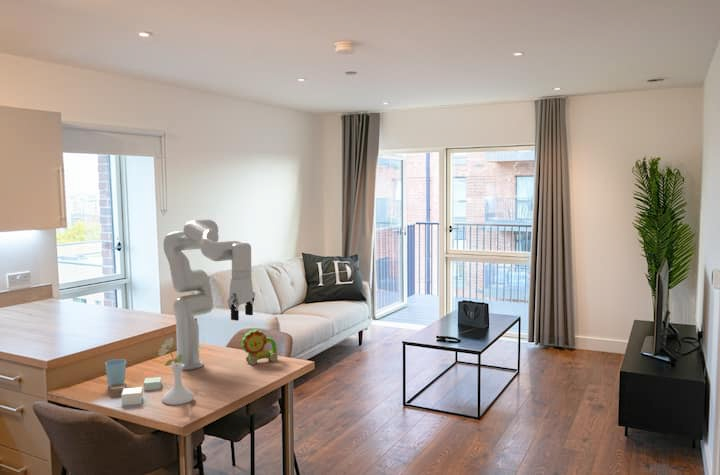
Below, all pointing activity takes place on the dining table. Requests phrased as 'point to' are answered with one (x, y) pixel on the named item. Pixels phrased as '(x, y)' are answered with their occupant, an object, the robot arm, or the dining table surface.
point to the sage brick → (152, 383)
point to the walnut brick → (117, 389)
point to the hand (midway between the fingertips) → (242, 317)
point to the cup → (115, 371)
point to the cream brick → (132, 396)
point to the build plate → (132, 404)
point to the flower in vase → (178, 391)
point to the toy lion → (258, 347)
